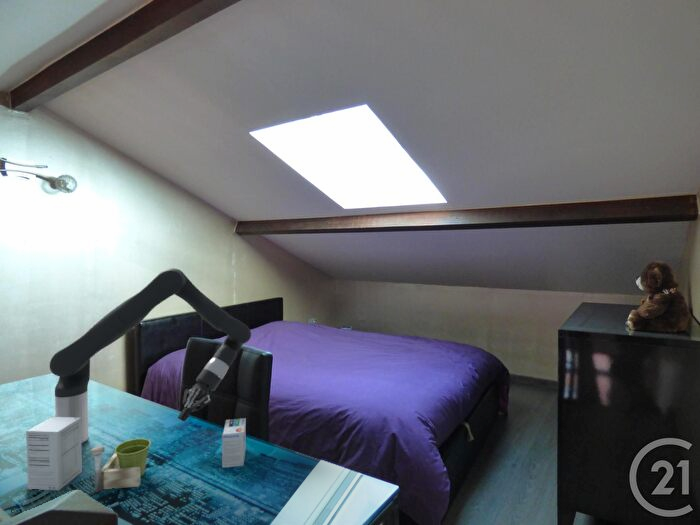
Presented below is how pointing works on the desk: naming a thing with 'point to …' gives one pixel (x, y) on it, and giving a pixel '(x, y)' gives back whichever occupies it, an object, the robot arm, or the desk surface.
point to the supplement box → (54, 453)
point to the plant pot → (133, 453)
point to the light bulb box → (234, 443)
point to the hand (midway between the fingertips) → (181, 419)
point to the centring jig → (113, 472)
